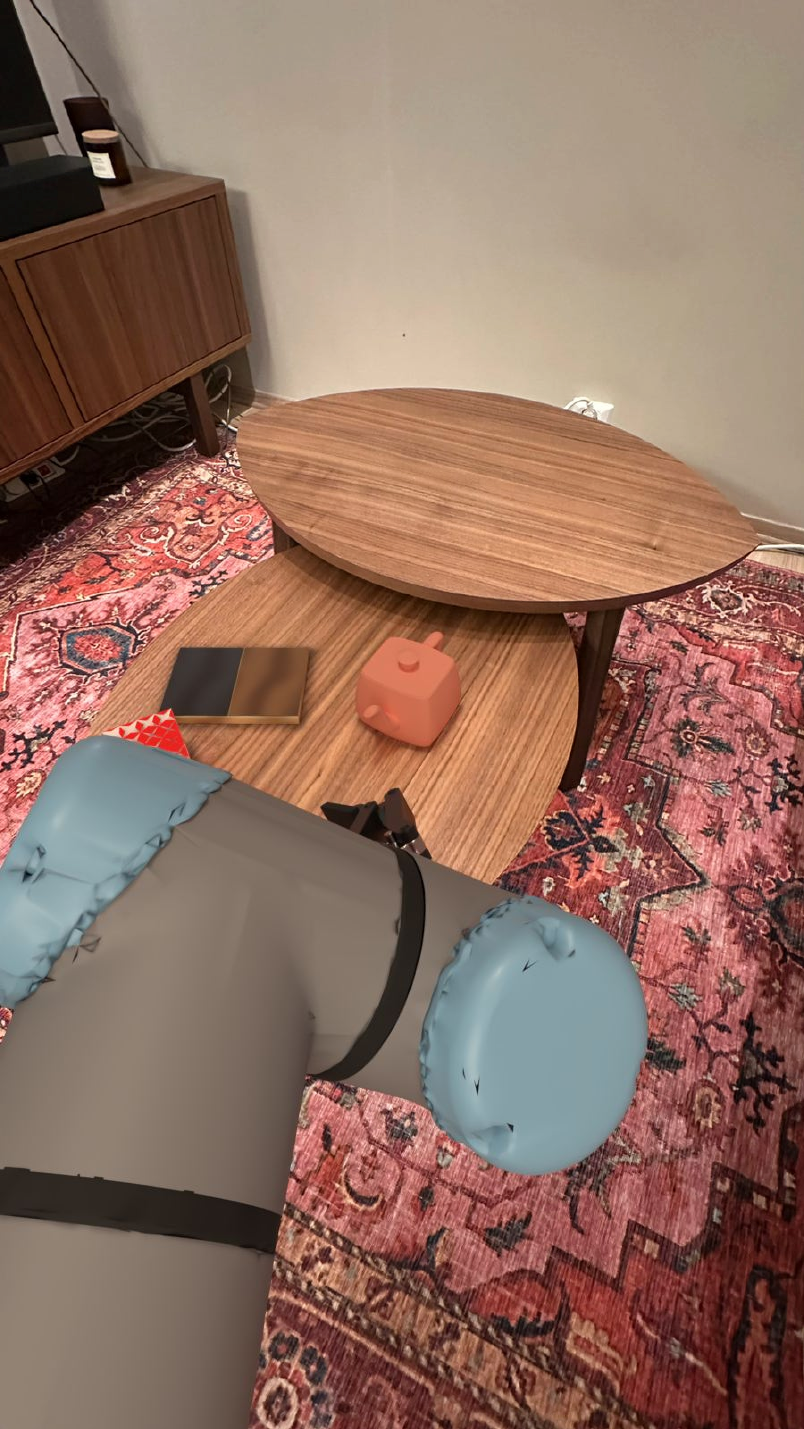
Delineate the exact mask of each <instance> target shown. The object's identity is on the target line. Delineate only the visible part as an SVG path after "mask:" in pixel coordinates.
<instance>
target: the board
mask: <svg viewBox="0 0 804 1429" xmlns="http://www.w3.org/2000/svg"><path fill="white" fill-rule="evenodd" d="M310 658H311V649H310V647H308V646H307V647H305V646H304V647H303V646H301V647H300V646H297V647H296V646H295V647H294V646H293V647H292V646H291V647H290V646H289V647H285V646H284V647H283V646H274V647H273V646H262V647H261V646H208V647H207V646H180V647H179V650H178V652H177V656H176V659H175V662H174V665H173V667H172V671H171V674H170V677H169V679H168V683H167V685H166V689H165V692H164V695H163V697H162V700H161V704H160V707H159V710H158V713H159V712H162V711H165V710H167V709H170V708H171V709H172V711H173V714H174V716H175V719H176V721H177V724H183V725H184V724H188V725H189V724H193V725H194V724H195V725H196V724H198V725H199V724H202V725H203V724H207V725H208V724H209V725H210V724H211V725H213V724H214V725H215V724H216V725H217V724H218V725H220V724H222V725H224V724H225V725H227V724H228V725H230V724H232V725H233V724H234V725H299V724H301V717H302V711H303V704H304V697H305V692H306V684H307V678H308V671H309V665H310Z"/></svg>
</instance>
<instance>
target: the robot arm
mask: <svg viewBox="0 0 804 1429" xmlns="http://www.w3.org/2000/svg"><path fill="white" fill-rule="evenodd" d="M383 798H384V801H383V802H380V803H378V802H377V800H372V801H367V802H365V803H357V804H355V805H351V804H350V805H349V804H344V803H337V802H331V801H326V802H325V803H323V804H321V805H320V806H319V808H320V809H321V811H322V813H323V815H324V817H325V818H323V817H321V816H319V815H316V814H315V813H313V812H310V811H307V810H306V809H303V808H301V807H299V806H297V805H295V804H292V803H290V802H288V801H286V800H284V799H281V798H279V797H277V796H274V795H272V794H270V793H268V792H266V791H265V790H261V789H259V788H258V787H255V786H253V785H250V784H249V783H246V782H245V781H242V780H240V779H237V778H235V777H234V774H233V773H232V772H231V771H229V770H226V769H222V768H219V767H216V766H212V765H210V764H208V763H207V764H206V763H203V762H200V761H197V760H194V759H193V758H191V759H189V758H186V757H183V756H180V755H177V754H174V753H171V752H168V751H165V750H162V749H159V748H156V747H149V746H146V745H143V744H139V743H136V742H133V741H130V740H127V739H123V738H120V737H116V736H109V735H102V734H100V735H92V736H88V737H85V738H82V739H80V740H79V741H76V742H75V743H73V744H71V745H70V746H68V747H67V748H66V749H65V750H64V751H63V752H62V753H61V754H60V755H59V757H58V758H57V760H56V761H55V763H54V764H53V766H52V767H51V769H50V771H49V773H48V774H47V776H46V778H45V780H44V782H43V783H42V785H41V788H40V789H39V791H38V794H37V796H36V798H35V800H34V802H33V804H32V806H31V807H30V809H29V811H28V813H27V815H26V816H25V818H24V820H23V821H22V824H21V826H20V827H19V829H18V831H17V833H16V836H15V838H14V840H13V842H12V844H11V845H10V847H9V850H8V852H7V854H6V856H5V858H4V860H3V862H2V864H1V866H0V1007H1V1008H5V1009H10V1010H13V1013H12V1015H11V1018H10V1020H9V1023H8V1025H7V1028H6V1030H5V1033H4V1035H3V1038H2V1040H1V1042H0V1429H249V1427H250V1420H251V1414H252V1413H251V1412H252V1408H253V1407H252V1406H253V1401H254V1394H255V1387H256V1380H257V1374H258V1368H259V1363H260V1362H259V1360H260V1355H261V1348H262V1342H263V1337H264V1336H263V1335H264V1330H265V1329H264V1328H265V1323H266V1315H267V1310H268V1309H267V1308H268V1302H269V1297H270V1289H271V1282H272V1277H273V1272H274V1271H273V1270H274V1263H275V1257H276V1253H277V1252H276V1251H277V1246H278V1240H279V1233H280V1228H281V1227H280V1226H281V1222H282V1219H283V1216H284V1209H285V1205H286V1204H285V1203H286V1198H287V1193H288V1192H287V1191H288V1186H289V1179H290V1174H291V1168H292V1162H293V1157H294V1151H295V1145H296V1139H297V1133H298V1126H299V1122H300V1121H299V1120H300V1115H301V1109H302V1104H303V1097H304V1092H305V1091H304V1090H305V1084H306V1079H307V1076H308V1077H310V1078H314V1079H317V1080H321V1081H325V1082H327V1083H336V1082H337V1083H340V1084H343V1085H347V1086H352V1087H355V1088H359V1089H364V1090H368V1091H371V1092H375V1093H379V1094H383V1095H387V1096H390V1097H394V1098H395V1097H396V1098H399V1099H403V1100H406V1101H409V1102H411V1103H414V1104H416V1105H418V1106H420V1107H422V1108H424V1109H426V1110H427V1111H428V1112H430V1114H431V1118H432V1120H433V1122H434V1124H435V1126H436V1127H437V1128H438V1129H439V1130H440V1131H443V1132H445V1135H446V1136H447V1137H448V1138H449V1140H451V1141H453V1142H455V1143H459V1144H463V1145H464V1146H465V1147H467V1148H468V1149H470V1150H471V1151H473V1153H475V1154H476V1155H477V1156H478V1157H480V1158H481V1159H483V1160H484V1161H486V1162H487V1163H489V1164H490V1165H492V1166H494V1167H496V1168H498V1169H500V1170H502V1171H505V1172H509V1173H512V1174H516V1175H520V1176H542V1175H549V1174H553V1173H557V1172H560V1171H563V1170H565V1169H568V1168H571V1167H572V1166H574V1165H576V1164H578V1163H580V1162H582V1161H583V1160H585V1159H586V1158H588V1157H589V1156H591V1155H592V1154H593V1153H594V1152H596V1151H597V1149H598V1148H600V1147H601V1145H603V1144H604V1143H605V1142H606V1141H607V1140H608V1138H609V1137H610V1136H611V1135H612V1134H613V1133H614V1132H615V1130H616V1129H617V1127H618V1126H619V1124H620V1123H621V1122H622V1120H624V1117H625V1115H626V1113H627V1111H628V1110H629V1107H630V1106H631V1104H632V1101H633V1099H634V1098H635V1095H636V1093H637V1091H636V1082H637V1078H638V1076H639V1074H640V1072H641V1064H642V1061H644V1058H645V1057H646V1055H647V1049H648V1037H649V1036H648V1034H649V1023H648V1022H649V1021H648V1008H647V1003H646V997H645V993H644V990H643V986H642V982H641V980H640V977H639V975H638V972H637V970H636V968H635V966H634V964H633V962H632V960H631V958H630V957H629V956H628V954H627V952H626V950H624V948H623V947H622V946H621V945H620V944H619V943H618V941H617V939H615V938H614V937H613V936H612V934H610V933H609V932H607V931H606V930H605V928H602V927H601V926H599V925H598V924H596V923H595V922H593V921H591V920H588V919H587V918H584V917H583V916H579V915H577V914H574V913H572V912H569V911H567V910H564V909H563V908H562V907H561V906H560V905H559V904H558V903H556V902H549V901H547V900H546V899H544V898H543V897H541V896H537V895H531V894H526V893H524V894H523V895H520V894H517V893H514V892H511V891H509V890H506V889H503V888H500V887H498V886H495V885H493V884H490V883H487V882H484V881H482V880H481V879H477V878H474V877H472V876H471V875H468V874H465V873H463V872H461V871H458V870H456V869H453V868H451V867H449V866H447V865H444V864H442V863H439V862H438V861H434V860H433V856H432V854H431V853H430V851H429V849H428V847H427V845H426V843H425V841H424V839H423V838H422V836H421V834H420V832H419V830H418V827H417V821H416V817H415V815H414V813H413V811H412V808H410V805H409V803H408V802H407V799H406V798H405V796H404V794H403V792H402V791H401V789H400V787H393V788H391V789H388V791H387V792H385V794H384V797H383Z"/></svg>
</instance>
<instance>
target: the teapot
mask: <svg viewBox="0 0 804 1429" xmlns="http://www.w3.org/2000/svg"><path fill="white" fill-rule="evenodd" d="M444 640H445V639H444V635H443V633H442V632H440V631H433V632H432V633H430V634H429V635H428V636H427V637H426V638H425V639H424V641H423V642H422V643H420V642H417V641H414V640H410V639H407V638H403V637H399V636H390V637H388V638H387V639H386V640H385V641H384V642H383V643H382V645H381V646H379V648H378V649H377V650H376V651H375V653H374V654H373V655H372V656H371V657H370V658H369V659H368V661H367V662H366V663H365V665H364V666H363V668H361V671H360V674H359V677H358V680H357V685H356V690H355V711H356V713H357V715H358V717H359V718H360V719H361V721H363V722H364V723H365V724H366V725H368V726H369V727H371V728H373V729H374V730H376V731H378V732H380V733H382V734H384V735H386V736H388V737H390V738H392V739H396V740H398V741H400V742H404V743H407V744H411V745H414V746H418V747H423V748H424V747H430V746H431V745H432V744H433V743H434V742H435V740H436V739H437V738H438V737H439V735H440V734H441V733H442V731H443V730H444V729H445V727H447V725H448V723H449V722H450V720H451V718H452V717H453V715H454V713H455V712H456V710H457V708H458V706H459V704H460V703H461V699H462V684H461V679H460V678H461V677H460V674H459V671H458V667H457V664H456V662H455V659H454V658H452V657H451V656H450V655H447V654H446V653H444V652H443V651H442V649H443V645H444Z"/></svg>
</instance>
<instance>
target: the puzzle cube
mask: <svg viewBox="0 0 804 1429" xmlns="http://www.w3.org/2000/svg"><path fill="white" fill-rule="evenodd" d="M100 733H101V735H109V736H116V737H120V738H123V739H127V740H130V741H133V742H136V743H139V744H143V745H146V746H149V747H156V748H159V749H162V750H165V751H168V752H171V753H174V754H177V755H180V756H183V757H186V758H189V759H192V756H191V753H190V751H189V748H188V745H187V744H186V741H185V738H184V736H183V734H182V732H181V728H180V726H179V723H177V721H176V719H175V716H174V714H173V711H172V709H171V708H170V709H167V710H165V711H162V712H159V711H158V712H156V713H153V714H150V715H147V716H144V717H141V718H139V719H136V720H133V721H130V722H127V723H124V724H122V725H121V724H120V725H118V726H116V727H112V728H110V729H106V730H104V731H101V732H100Z"/></svg>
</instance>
